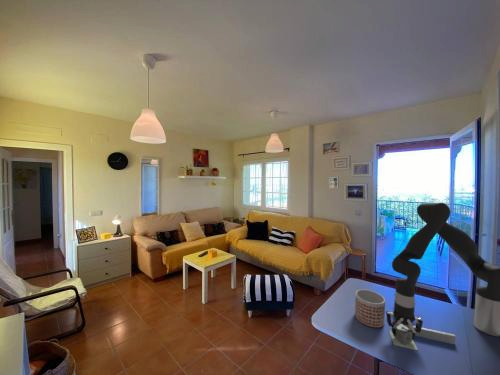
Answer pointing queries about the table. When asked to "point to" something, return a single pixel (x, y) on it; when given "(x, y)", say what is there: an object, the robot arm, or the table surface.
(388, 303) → the table surface
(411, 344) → the mat
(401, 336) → the dice cube
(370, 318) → the planter
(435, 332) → the pen walls
